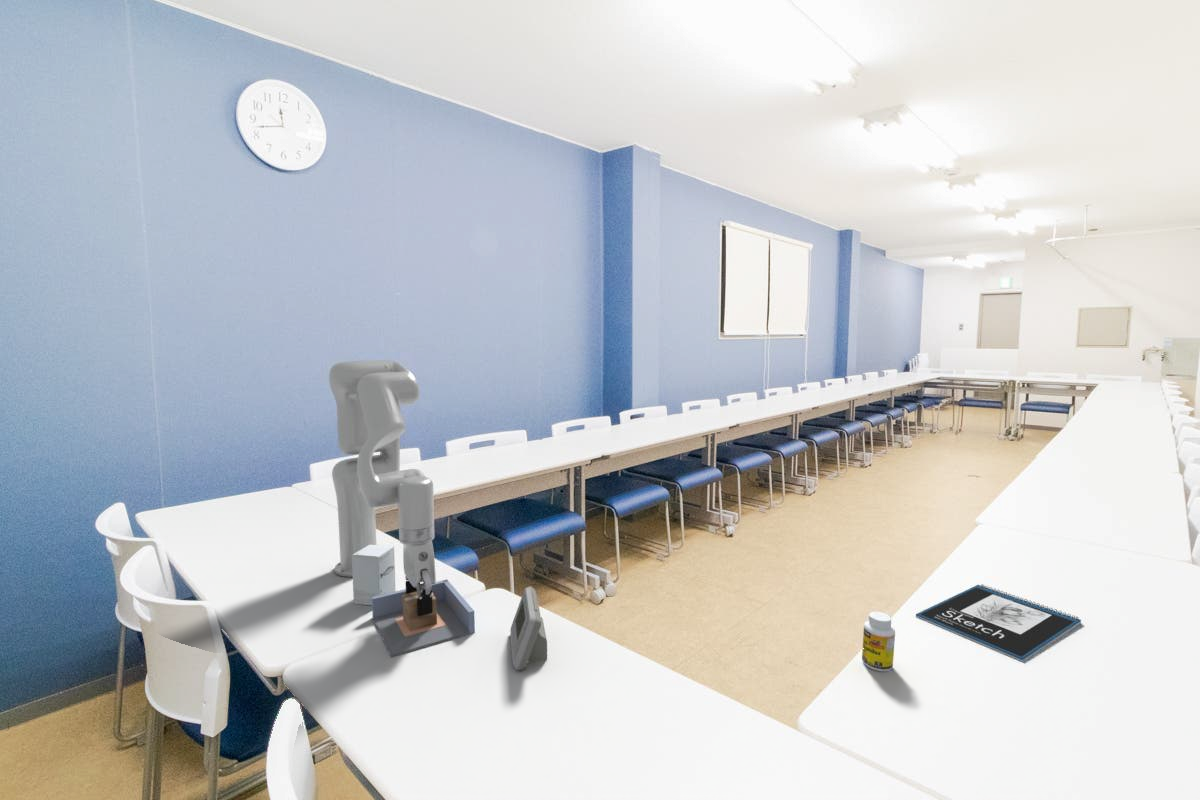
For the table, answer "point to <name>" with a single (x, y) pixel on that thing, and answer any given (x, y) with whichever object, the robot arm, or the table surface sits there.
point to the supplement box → (373, 573)
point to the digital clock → (528, 632)
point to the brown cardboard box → (411, 612)
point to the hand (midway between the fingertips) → (418, 605)
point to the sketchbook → (1000, 621)
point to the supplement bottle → (878, 642)
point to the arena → (451, 624)
